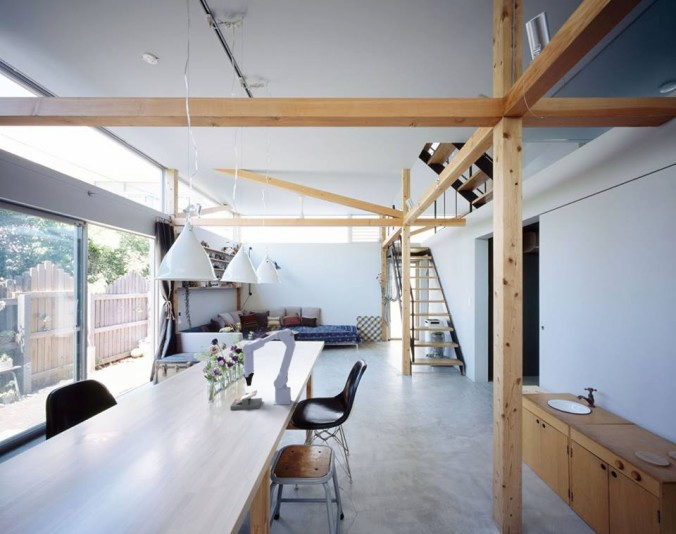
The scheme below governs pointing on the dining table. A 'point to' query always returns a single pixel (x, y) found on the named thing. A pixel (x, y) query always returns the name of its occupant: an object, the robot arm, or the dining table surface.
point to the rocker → (246, 396)
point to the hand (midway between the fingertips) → (249, 385)
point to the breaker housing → (246, 404)
